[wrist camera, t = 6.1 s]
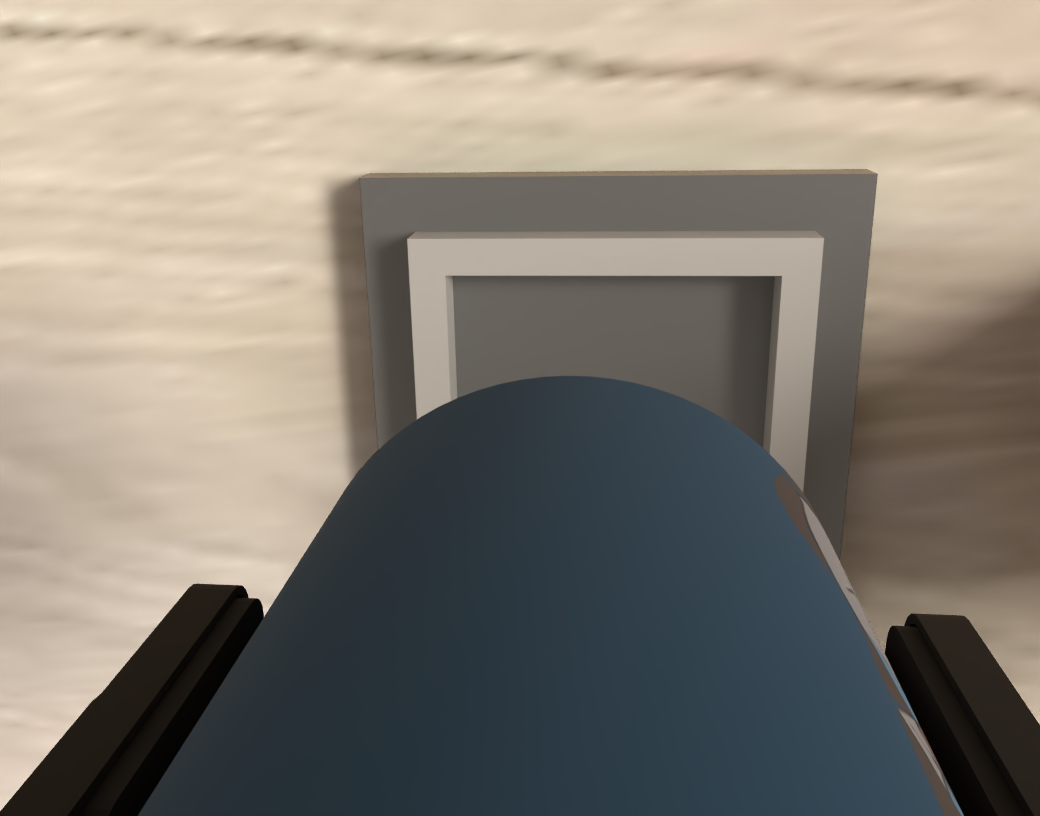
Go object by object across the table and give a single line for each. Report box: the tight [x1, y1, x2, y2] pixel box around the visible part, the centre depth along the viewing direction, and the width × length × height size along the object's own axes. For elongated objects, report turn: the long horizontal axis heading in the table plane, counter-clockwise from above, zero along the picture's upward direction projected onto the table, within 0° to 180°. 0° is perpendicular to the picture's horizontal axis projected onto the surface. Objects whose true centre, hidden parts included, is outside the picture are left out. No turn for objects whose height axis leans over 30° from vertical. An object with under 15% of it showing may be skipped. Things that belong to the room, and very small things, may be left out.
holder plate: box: [360, 169, 878, 561], centre depth 29 cm, size 14×14×2 cm
